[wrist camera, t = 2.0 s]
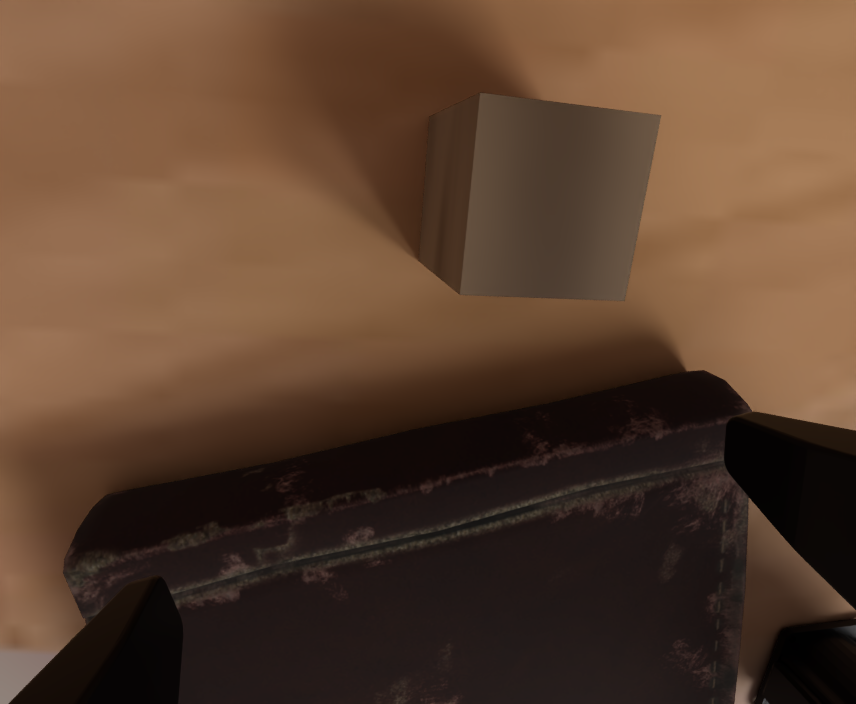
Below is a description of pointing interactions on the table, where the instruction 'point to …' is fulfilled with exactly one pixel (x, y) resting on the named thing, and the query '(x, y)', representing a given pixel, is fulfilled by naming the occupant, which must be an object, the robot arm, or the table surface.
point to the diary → (456, 560)
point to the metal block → (534, 197)
